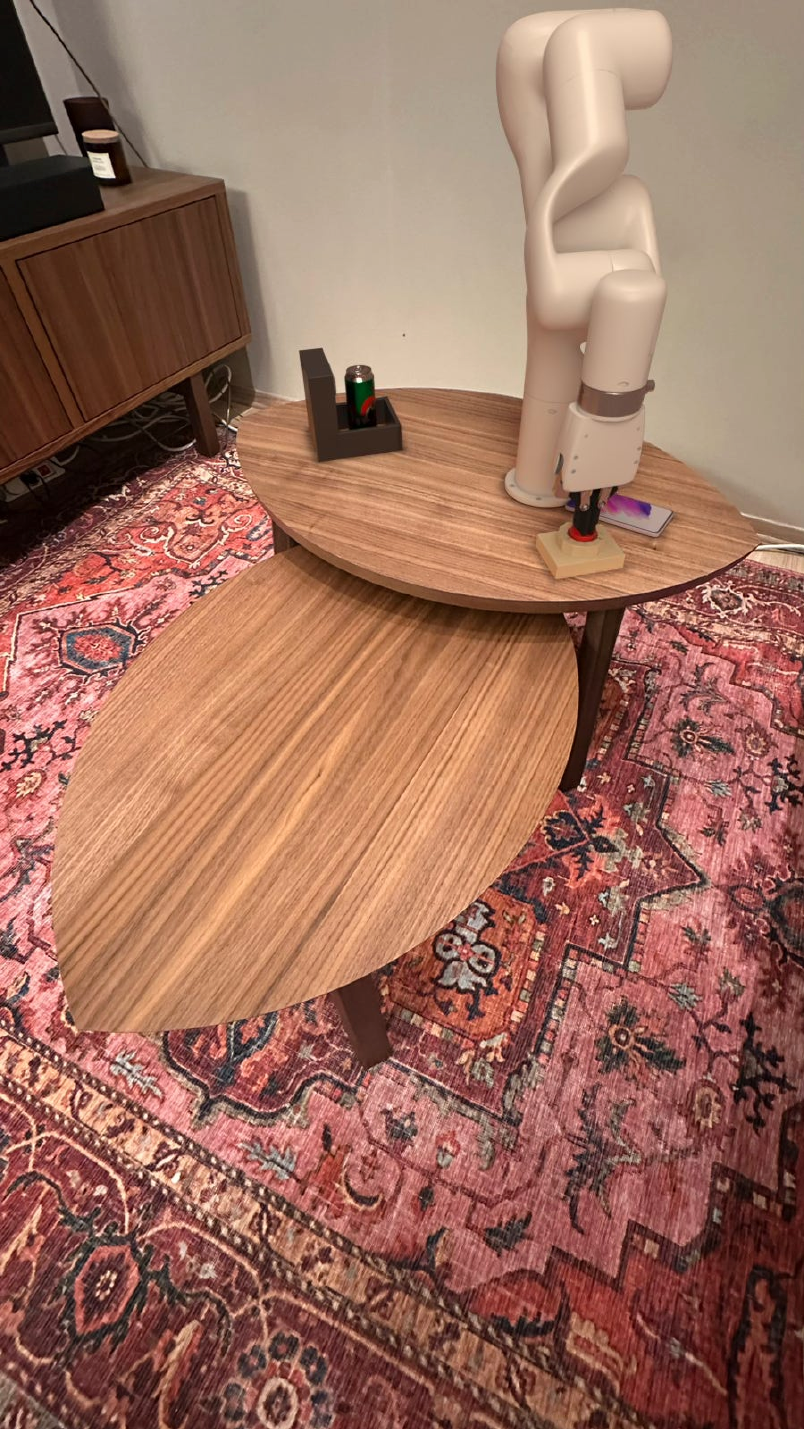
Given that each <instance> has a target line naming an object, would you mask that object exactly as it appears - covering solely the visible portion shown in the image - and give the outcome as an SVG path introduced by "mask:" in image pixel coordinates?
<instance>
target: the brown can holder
mask: <svg viewBox="0 0 804 1429" xmlns="http://www.w3.org/2000/svg"><path fill="white" fill-rule="evenodd" d="M323 348H324V347H317V348H307V349H301V350H300V349H299V350H298V353H299V361H300V369H301V376H302V384H303V391H304V399H305V400H304V401H305V407H306V414H307V415H306V416H307V421H308V428H309V433H310V437H311V441H312V443H313V447H314V451H315V454H316V457H317V461H318V463H319V462H327V461H333V460H340V459H349V458H355V457H362V456H363V457H364V456H370V455H377V454H378V455H379V454H385V453H390V452H399V451H403V426H402V423H401V421H400V419H399V417H398V415H397V413H396V411H395V409H394V407H393V404H392V403H391V400H390V399H389V397H388V396H381V397H379V396H378V397H375V398H376V415H377V426H376V427H369V428H361V429H354V430H349V427H348V416H347V404H346V401H340V402H337V398H336V397H337V396H338V394H337V385H336V377H335V374H334V372H333V369H332V367H331V364H330V362H329V361H328V359H327V355H326V354H325V351H324V349H323ZM382 424H384V425H382ZM344 429H345V430H344ZM346 429H348V430H346ZM340 430H341V431H340Z"/></svg>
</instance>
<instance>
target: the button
mask: <svg viewBox="0 0 804 1429" xmlns="http://www.w3.org/2000/svg"><path fill="white" fill-rule="evenodd" d="M596 533H597V530H596V528H595V531H594V534H593V535H589V534H587V535H586V536H582V535H581V534H580V533H579V531H578V530H577V528H575V527H574V525H572V526H571V528H570V532H569V537H570V538H571V539H573V540H575V541H579V542H590V541H594V540H595V537H596Z"/></svg>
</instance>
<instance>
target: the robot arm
mask: <svg viewBox="0 0 804 1429" xmlns="http://www.w3.org/2000/svg"><path fill="white" fill-rule="evenodd" d="M672 36H673V35H672V31H671V28H670V25H669V23H668V21H667V18H666V17H665V16H664V14H662V12H660V11H659V10H655V9H642V8H641V9H640V8H633V7H613V8H612V7H611V8H591V9H568V10H567V9H566V10H551V11H543V12H542V11H541V12H537V13H533V14H532V13H531V14H529V15H527V16H524V17H521V18H520V19H518V20H516V21H514V23H512V24H511V25H509V26H508V28H507V29H506V30H505V31H504V33H503V35H502V36H501V39H500V42H499V45H498V49H497V52H496V53H497V54H496V62H495V91H496V92H495V93H496V101H497V108H498V113H499V118H500V122H501V126H502V129H503V132H504V135H505V138H506V142H507V143H508V146H509V148H510V150H511V151H510V152H512V156H513V158H514V160H515V163H516V166H517V170H518V174H519V180H520V189H521V196H522V204H523V205H522V206H523V211H524V212H523V213H524V220H525V226H526V229H525V233H524V244H523V246H524V247H523V263H524V272H525V280H526V283H525V284H526V296H525V314H526V317H525V318H526V362H525V373H524V374H525V376H524V383H523V395H522V406H521V415H520V422H519V434H518V445H517V453H516V464H515V466H514V467H513V468H511V469H510V470H509V471H508V472H507V473H506V475H505V478H504V484H503V485H504V489H505V491H506V493H507V494H508V496H510V497H511V498H512V499H514V500H515V501H517V502H518V503H521V504H524V505H527V506H530V507H531V506H532V507H536V508H560V507H563V506H564V507H565V505H566V503H567V502H568V501H569V500H572V501H573V502H574V503H575V504H576V505H575V510H574V512H573V516H572V521H573V525H574V527H575V528H577V530H578V531H579V533H580V534H581V535H582V536H586V535H587V534H589V535H593V534H594V531H595V527H596V525H597V524H599V521H600V520H599V515H600V511H601V508H603V507H605V505H606V503H607V500H608V499H609V498H610V497H611V496H612V495H614V494H617V491H618V492H621V491H623V490H625V489H627V488H630V487H631V486H632V485H633V481H634V479H635V477H636V475H637V473H638V469H639V466H640V462H641V457H642V451H643V445H644V439H645V428H646V406H645V405H644V400H645V396H646V394H648V393H653V392H654V390H655V388H656V382H655V380H654V379H649V375H650V372H651V367H652V362H653V358H654V354H655V349H656V346H657V341H658V337H659V333H660V329H661V324H662V320H663V315H664V311H665V308H666V302H667V297H668V286H667V283H666V282H667V281H666V280H665V279H664V278H663V269H662V268H663V267H662V262H661V261H662V260H661V254H660V248H659V239H658V233H657V226H656V219H655V211H654V205H653V199H652V196H651V195H652V194H651V192H650V190H649V187H648V186H647V184H646V183H645V182H644V180H642V179H641V178H640V177H638V176H636V175H632V174H623V173H624V171H625V170H626V167H627V165H628V162H629V158H630V142H629V134H628V124H627V119H626V118H627V117H626V116H627V115H626V112H627V111H638V110H639V111H641V110H643V111H644V110H647V109H650V108H652V107H653V106H655V105H656V104H658V102H659V101H660V99H661V98H662V97H663V95H664V93H665V91H666V89H667V87H668V84H669V81H670V77H671V74H672V69H673V61H674V42H673V37H672ZM583 343H585V346H584V352H583V351H582V349H581V345H582V344H583ZM590 490H591V491H590Z"/></svg>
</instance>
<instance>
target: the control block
mask: <svg viewBox="0 0 804 1429" xmlns="http://www.w3.org/2000/svg"><path fill="white" fill-rule="evenodd" d="M572 525H573V520H570V521H566V522H565V523H564V524H562V525H560V526H559V529H558V530H555V531H547V532H542V533H537V534H536V539H535V546H534V547H535V549H536V550H537V552H538V554H539V556H540V557H541V558H542V560H543V562H544V564H545V565H546V566H547V568H548V570H549V571H550V573H551V574H552V576H553V578H554V579H555V580H559V579H565V578H571V577H578V576H584V575H589V574H595V573H602V572H607V571H612V570H613V571H614V570H618V569H623V568H624V564H625V561H626V558H627V555H626V553H625V552H624V550H623V549H622V547H620V545H619V544H618V543H617V541H616V540H615V539H614V537H613V536H612V535H611V533H610V532H609V531H608V529H607V528H606V527H605V526H604V524H603V523H598V524H597V525H596V527H595V528H596V530H597V533H596V537H595V540H594V541H590V542H579V541H575V540H573V539H571V538H570V537H569V532H570V528H571V526H572Z"/></svg>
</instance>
